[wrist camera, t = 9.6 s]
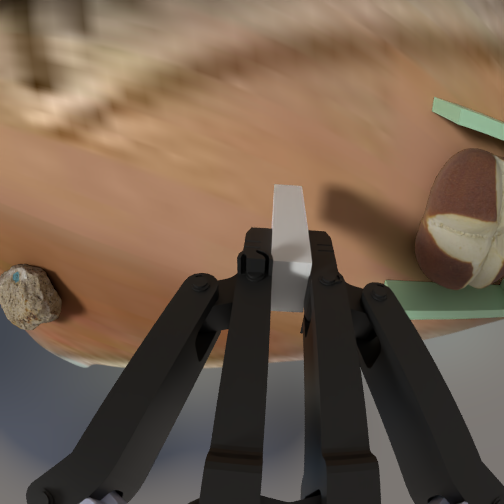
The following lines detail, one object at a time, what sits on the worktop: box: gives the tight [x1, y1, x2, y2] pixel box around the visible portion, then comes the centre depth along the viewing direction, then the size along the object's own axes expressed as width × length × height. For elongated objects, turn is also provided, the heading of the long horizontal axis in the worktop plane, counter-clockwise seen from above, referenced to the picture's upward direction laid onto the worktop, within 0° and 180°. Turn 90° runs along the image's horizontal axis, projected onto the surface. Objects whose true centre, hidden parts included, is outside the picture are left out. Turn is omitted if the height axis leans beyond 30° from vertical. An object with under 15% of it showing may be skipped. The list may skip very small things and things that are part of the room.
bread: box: [415, 149, 504, 290], centre depth 17 cm, size 11×11×5 cm
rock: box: [0, 264, 62, 330], centre depth 28 cm, size 8×11×4 cm
